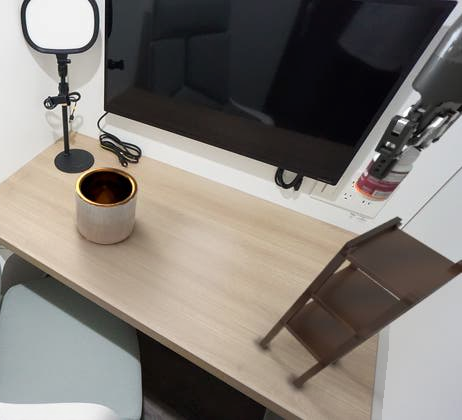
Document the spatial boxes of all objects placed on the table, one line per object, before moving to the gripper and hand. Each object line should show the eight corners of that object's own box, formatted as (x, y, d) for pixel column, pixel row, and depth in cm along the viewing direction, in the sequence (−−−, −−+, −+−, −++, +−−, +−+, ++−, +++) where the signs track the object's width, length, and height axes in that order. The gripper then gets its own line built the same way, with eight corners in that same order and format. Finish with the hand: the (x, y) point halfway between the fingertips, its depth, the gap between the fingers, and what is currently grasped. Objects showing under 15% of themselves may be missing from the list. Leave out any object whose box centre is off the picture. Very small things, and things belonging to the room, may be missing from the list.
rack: (336, 361, 68) (476, 262, 43) (296, 388, 64) (424, 296, 39) (296, 321, 74) (397, 216, 49) (258, 343, 71) (346, 241, 46)
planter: (143, 217, 100) (149, 178, 89) (116, 255, 89) (119, 216, 78) (95, 198, 107) (95, 160, 96) (65, 231, 96) (61, 192, 85)
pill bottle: (358, 180, 54) (389, 137, 48) (391, 193, 51) (428, 149, 46) (347, 191, 52) (378, 147, 46) (381, 206, 49) (418, 161, 44)
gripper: (485, 74, 33) (383, 199, 44) (548, 54, 37) (440, 172, 48) (405, 54, 38) (332, 171, 49) (469, 39, 42) (388, 149, 53)
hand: (386, 171), depth 49 cm, fingers closed on pill bottle, 4 cm apart
